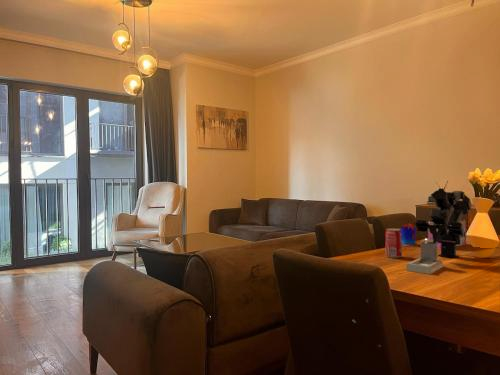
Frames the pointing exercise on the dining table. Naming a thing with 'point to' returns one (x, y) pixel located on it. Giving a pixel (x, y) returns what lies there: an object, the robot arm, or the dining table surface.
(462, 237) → the gum box
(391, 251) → the soda can
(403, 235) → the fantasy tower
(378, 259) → the dining table surface
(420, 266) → the rail
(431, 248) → the gray block silver cap
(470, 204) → the robot arm
